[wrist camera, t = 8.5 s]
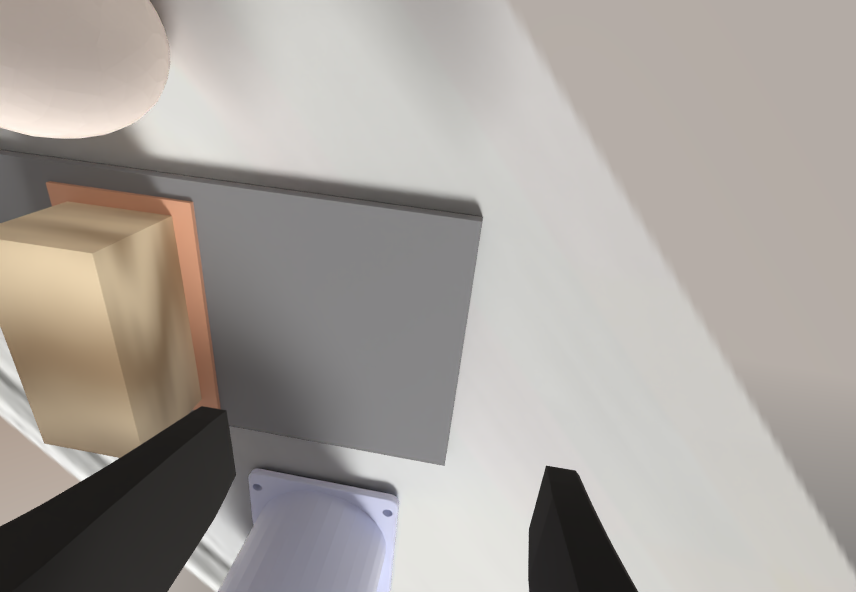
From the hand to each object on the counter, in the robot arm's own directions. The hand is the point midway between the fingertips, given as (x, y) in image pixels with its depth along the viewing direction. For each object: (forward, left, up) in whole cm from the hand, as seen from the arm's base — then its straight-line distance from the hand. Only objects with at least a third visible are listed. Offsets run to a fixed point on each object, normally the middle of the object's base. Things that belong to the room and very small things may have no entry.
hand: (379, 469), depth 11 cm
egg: (+8, +11, -10) cm, 17 cm away
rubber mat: (-3, +9, -10) cm, 13 cm away
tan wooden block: (-3, +13, -9) cm, 15 cm away
